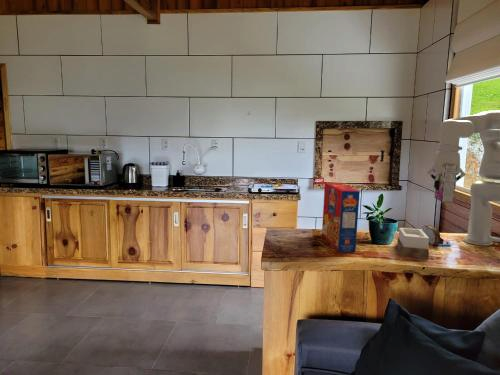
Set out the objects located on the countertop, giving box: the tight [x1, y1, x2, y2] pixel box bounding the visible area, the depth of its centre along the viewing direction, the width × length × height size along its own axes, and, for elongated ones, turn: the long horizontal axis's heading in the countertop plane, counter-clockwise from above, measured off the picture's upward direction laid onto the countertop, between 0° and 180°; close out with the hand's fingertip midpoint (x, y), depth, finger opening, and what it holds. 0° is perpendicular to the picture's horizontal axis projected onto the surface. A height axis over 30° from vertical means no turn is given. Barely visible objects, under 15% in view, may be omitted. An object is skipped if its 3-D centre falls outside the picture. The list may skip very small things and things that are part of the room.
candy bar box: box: [433, 164, 457, 203], centre depth 165 cm, size 11×5×16 cm, turn 170°
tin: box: [422, 224, 441, 246], centre depth 188 cm, size 15×3×8 cm, turn 178°
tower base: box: [396, 237, 430, 260], centre depth 173 cm, size 12×18×4 cm, turn 161°
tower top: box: [397, 227, 430, 249], centre depth 173 cm, size 10×16×5 cm, turn 167°
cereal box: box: [321, 182, 360, 253], centre depth 182 cm, size 28×8×28 cm, turn 4°
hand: (444, 189), depth 166 cm, fingers closed on candy bar box, 5 cm apart
